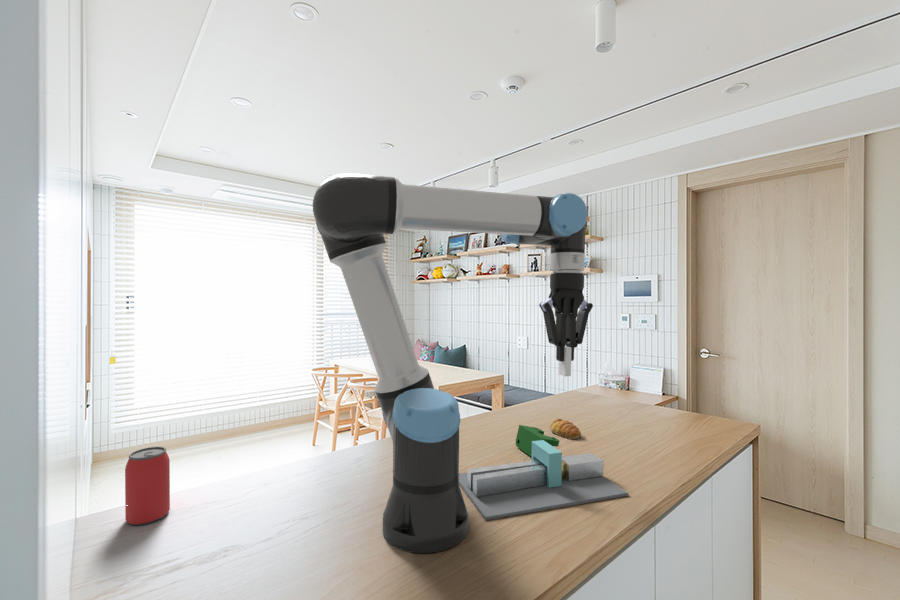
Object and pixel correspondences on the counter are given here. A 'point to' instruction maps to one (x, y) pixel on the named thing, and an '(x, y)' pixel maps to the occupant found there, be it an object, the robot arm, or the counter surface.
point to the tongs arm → (509, 480)
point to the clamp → (532, 438)
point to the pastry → (565, 429)
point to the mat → (542, 496)
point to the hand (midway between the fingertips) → (564, 375)
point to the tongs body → (571, 465)
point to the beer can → (147, 485)
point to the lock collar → (548, 461)
